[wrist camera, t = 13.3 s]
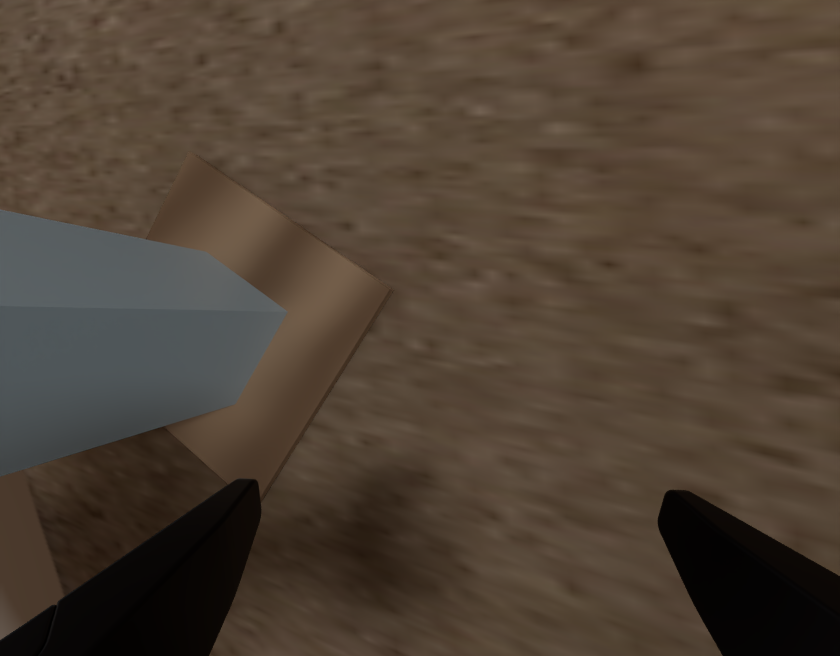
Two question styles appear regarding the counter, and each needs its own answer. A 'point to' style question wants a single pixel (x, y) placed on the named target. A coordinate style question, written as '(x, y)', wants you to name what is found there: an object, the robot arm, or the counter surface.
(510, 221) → the counter surface
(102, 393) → the tall slate pillar
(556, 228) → the counter surface
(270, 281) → the post base
